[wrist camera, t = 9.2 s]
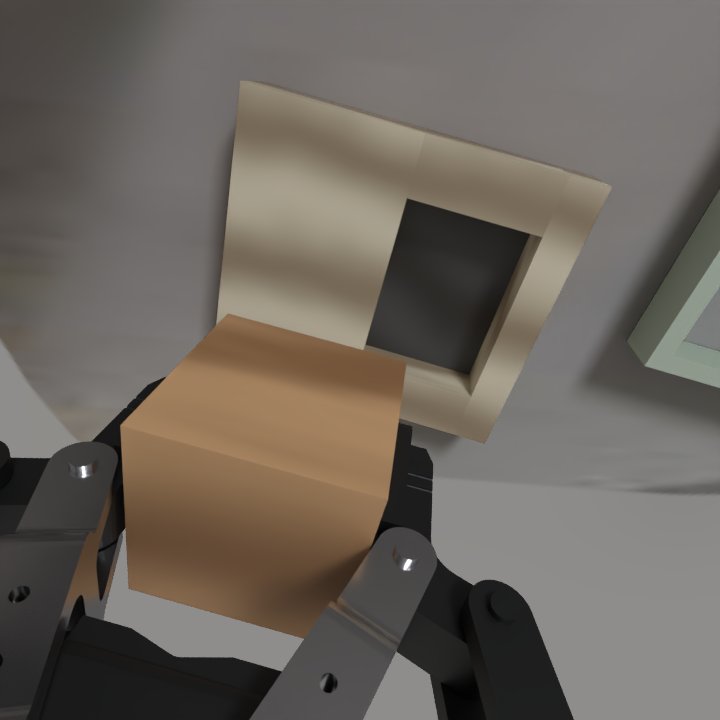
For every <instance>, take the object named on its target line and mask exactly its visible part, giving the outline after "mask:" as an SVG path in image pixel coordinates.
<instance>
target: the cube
mask: <svg viewBox="0 0 720 720" xmlns="http://www.w3.org/2000/svg"><path fill="white" fill-rule="evenodd" d="M406 364H407V362H405V361H401V360H398V359H394V358H390V357H387V356H383V355H379V354H375V353H372V352H368V351H364V350H361V349H357V348H353V347H350V346H346V345H342V344H339V343H335V342H331V341H328V340H324V339H320V338H317V337H313V336H309V335H305V334H302V333H298V332H294V331H291V330H287V329H283V328H280V327H276V326H272V325H269V324H265V323H261V322H258V321H254V320H250V319H246V318H243V317H239V316H235V315H232V314H227V315H226V316H225V317H224V318H223V319H222V320H221V321H220V322H219V323H218V324H217V325H216V326H215V327H214V328H213V329H212V330H211V331H210V332H209V333H208V335H207V336H206V337H205V338H204V339H203V340H202V341H201V342H200V343H199V344H198V345H197V346H196V347H195V348H194V349H193V350H192V351H191V352H190V353H189V354H188V355H187V356H186V357H185V359H184V360H183V361H182V362H181V363H180V364H179V365H178V366H177V367H176V368H175V369H174V370H173V371H172V372H171V373H170V374H169V375H168V376H167V377H166V378H165V379H164V380H163V381H162V382H161V384H160V385H159V386H158V387H157V388H156V389H155V390H154V391H153V392H152V393H151V394H150V395H149V396H148V397H147V398H146V399H145V400H144V401H143V402H142V403H141V404H140V405H139V406H138V407H137V409H136V410H135V411H134V412H133V413H132V414H131V415H130V416H129V417H128V418H127V419H126V420H125V421H124V422H123V423H122V424H121V425H120V429H121V449H122V468H123V487H124V507H125V526H126V543H127V544H126V545H127V565H128V584H129V589H132V590H135V591H139V592H142V593H146V594H149V595H153V596H156V597H160V598H163V599H167V600H170V601H174V602H177V603H181V604H185V605H188V606H191V607H195V608H199V609H202V610H205V611H209V612H212V613H216V614H220V615H223V616H226V617H230V618H233V619H237V620H241V621H244V622H247V623H251V624H254V625H258V626H261V627H265V628H269V629H272V630H275V631H279V632H283V633H286V634H289V635H293V636H297V637H300V638H304V639H305V637H306V636H307V634H308V633H309V631H310V630H311V628H312V627H313V625H314V624H315V623H316V621H317V620H318V618H319V617H320V615H321V614H322V612H323V611H324V609H325V608H326V607H327V605H328V604H329V603H330V602H331V601H332V600H334V601H336V600H337V599H338V598H339V596H340V595H341V593H342V592H343V590H344V589H345V587H346V586H347V584H348V583H349V581H350V580H351V578H352V577H353V575H354V574H355V572H356V571H357V569H358V568H359V566H360V565H361V563H362V562H363V560H364V559H365V557H366V556H367V554H368V553H369V551H370V548H371V546H372V543H373V540H374V537H375V534H376V532H377V529H378V526H379V523H380V520H381V518H382V515H383V512H384V509H385V507H386V504H387V501H388V496H389V488H390V481H391V474H392V466H393V459H394V452H395V444H396V437H397V430H398V422H399V415H400V408H401V400H402V393H403V386H404V378H405V371H406Z"/></svg>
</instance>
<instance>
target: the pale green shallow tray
mask: <svg viewBox="0 0 720 720" xmlns="http://www.w3.org/2000/svg"><path fill="white" fill-rule="evenodd" d="M719 287H720V189H719V191H718V192H717V194H716V196H715V197H714V199H713V200H712V202H711V204H710V205H709V207H708V209H707V210H706V212H705V214H704V215H703V217H702V219H701V220H700V222H699V223H698V225H697V227H696V228H695V230H694V232H693V233H692V235H691V237H690V238H689V240H688V241H687V243H686V245H685V246H684V248H683V250H682V251H681V253H680V255H679V256H678V258H677V260H676V261H675V263H674V264H673V266H672V268H671V269H670V271H669V273H668V274H667V276H666V278H665V279H664V281H663V282H662V284H661V286H660V287H659V289H658V291H657V292H656V294H655V296H654V297H653V299H652V300H651V302H650V304H649V305H648V307H647V309H646V310H645V312H644V314H643V315H642V317H641V319H640V320H639V322H638V323H637V325H636V327H635V328H634V330H633V332H632V333H631V335H630V337H629V338H628V340H627V343H628V344H629V345H630V347H631V348H632V350H633V351H634V352H635V354H636V355H637V356H638V358H639V359H640V361H641V362H642V363H643V365H644V366H646V367H649V368H653V369H656V370H660V371H663V372H667V373H670V374H673V375H677V376H680V377H684V378H687V379H691V380H694V381H697V382H701V383H704V384H708V385H711V386H715V387H718V388H720V351H716V350H713V349H709V348H706V347H702V346H699V345H696V344H692V343H689V342H685V341H683V340H684V338H685V337H686V336H687V334H688V333H689V331H690V330H691V328H692V327H693V325H694V324H695V322H696V321H697V319H698V318H699V316H700V315H701V313H702V312H703V310H704V309H705V308H706V306H707V305H708V303H709V302H710V300H711V299H712V297H713V296H714V294H715V293H716V291H717V290H718V288H719Z"/></svg>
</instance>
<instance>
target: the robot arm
mask: <svg viewBox="0 0 720 720" xmlns="http://www.w3.org/2000/svg"><path fill="white" fill-rule="evenodd" d="M165 378H166V377H164V378H162V379H160V380H158V381H155V382H153V383H151V384H149V385H147V386H146V387H145V388H144V389H143V390H142V391H141V392H140V393H139V394H138V395H137V397H136V399H133V400H132V401H131V402H130V403H129V404H128V405H127V408H124V409H123V410H122V411H121V412H120V413H119V414H118V415H117V416H116V417H115V418H114V419H113V420H112V421H111V423H110V424H109V425H108V426H107V427H106V428H105V429H104V430H103V431H102V432H101V433H100V434H99V435H98V436H97V437H96V438H95V439H94V440H93V441H92V442H80V443H75V444H72V445H69V446H67V447H65V448H62V449H61V450H59V451H58V452H56V453H55V454H54V455H53V456H52V457H51V458H11V457H10V452H9V449H8V447H7V446H6V444H5V443H3V442H1V441H0V720H363V719H364V716H365V714H366V712H367V710H368V708H369V706H370V704H371V702H372V700H373V698H374V696H375V694H376V692H377V689H378V687H379V686H380V683H381V681H382V679H383V677H384V675H385V673H386V671H387V669H388V667H389V664H390V663H391V661H392V659H393V657H394V655H395V653H396V651H397V652H398V653H400V654H401V655H402V656H404V657H405V658H407V659H408V660H410V661H411V662H413V663H414V664H416V665H417V666H418V667H420V668H421V669H423V670H424V671H426V672H427V673H429V674H430V677H431V683H432V688H433V693H434V699H435V704H436V709H437V715H438V720H574V719H573V716H572V714H571V711H570V709H569V706H568V704H567V701H566V698H565V696H564V694H563V691H562V688H561V686H560V683H559V681H558V678H557V675H556V673H555V670H554V668H553V665H552V663H551V660H550V658H549V655H548V652H547V650H546V647H545V645H544V642H543V640H542V637H541V635H540V632H539V629H538V627H537V624H536V622H535V619H534V617H533V614H532V612H531V609H530V607H529V606H528V604H527V603H526V601H525V600H524V598H523V597H522V596H521V595H520V594H519V593H518V592H517V591H516V590H514V589H513V588H512V587H510V586H508V585H507V584H504V583H502V582H499V581H496V580H483V581H480V582H478V583H476V585H474V586H473V585H472V584H470V583H468V582H467V581H465V580H463V579H462V578H460V577H458V576H457V575H455V574H454V573H452V572H451V571H449V570H448V569H447V568H446V567H445V566H444V565H443V564H442V563H441V562H440V560H439V559H438V558H437V556H436V552H435V550H434V548H433V546H432V544H431V517H432V479H433V463H432V461H431V458H430V456H429V454H428V452H427V450H426V449H424V448H420V447H416V446H413V445H411V437H412V426H409V425H405V424H401V423H398V430H397V437H396V444H395V452H394V459H393V466H392V474H391V481H390V488H389V496H388V501H387V504H386V507H385V509H384V512H383V515H382V518H381V520H380V523H379V526H378V529H377V532H376V534H375V537H374V540H373V543H372V546H371V548H370V551H369V553H368V554H367V556H366V557H365V559H364V560H363V562H362V563H361V565H360V566H359V568H358V569H357V571H356V572H355V574H354V575H353V577H352V578H351V580H350V581H349V583H348V584H347V586H346V587H345V589H344V590H343V592H342V593H341V595H340V596H339V598H338V599H337V600H336V601H334V600H332V601H331V602H330V603H329V604H328V605H327V607H326V608H325V609H324V611H323V612H322V614H321V615H320V617H319V618H318V620H317V621H316V623H315V624H314V625H313V627H312V628H311V630H310V631H309V633H308V634H307V636H306V637H305V639H304V640H303V642H302V643H301V645H300V646H299V648H298V649H297V650H296V652H295V653H294V655H293V656H292V658H291V659H290V661H289V662H288V664H287V665H286V667H285V668H284V670H283V671H278V670H275V669H271V668H268V667H264V666H261V665H257V664H254V663H250V662H247V661H243V660H239V659H236V658H206V657H204V658H203V657H201V658H200V657H198V658H195V657H191V658H189V657H183V658H182V657H176V656H173V655H171V654H169V653H168V652H166V651H165V650H163V649H162V648H160V647H159V646H157V645H156V644H154V643H153V642H151V641H150V640H148V639H147V638H145V637H144V636H142V635H140V634H139V633H138V632H136V631H135V630H133V629H132V628H128V627H124V626H121V625H118V624H114V623H111V622H107V621H104V620H103V619H104V613H105V608H106V604H107V599H108V596H109V591H110V588H111V583H112V580H113V576H114V572H115V568H116V563H117V559H118V555H119V551H120V547H121V544H122V538H123V536H122V532H123V530H124V529H125V527H126V526H125V507H124V487H123V468H122V449H121V429H120V425H121V424H122V423H123V422H124V421H125V420H126V419H127V418H128V417H129V416H130V415H131V414H132V413H133V412H134V411H135V410H136V409H137V407H138V406H139V405H140V404H141V403H142V402H143V401H144V400H145V399H146V398H147V397H148V396H149V395H150V394H151V393H152V392H153V391H154V390H155V389H156V388H157V387H158V386H159V385H160V384H161V382H162V381H163V380H164V379H165Z"/></svg>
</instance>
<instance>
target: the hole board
mask: <svg viewBox="0 0 720 720" xmlns="http://www.w3.org/2000/svg"><path fill="white" fill-rule="evenodd" d="M611 188H612V187H611V186H609V185H607V184H605V183H604V182H602V181H600V180H598V179H597V178H595V177H591V176H588V175H584V174H581V173H577V172H574V171H571V170H567V169H564V168H560V167H557V166H553V165H550V164H546V163H543V162H539V161H536V160H532V159H529V158H525V157H522V156H518V155H515V154H511V153H508V152H504V151H501V150H497V149H494V148H490V147H487V146H483V145H480V144H476V143H473V142H470V141H466V140H463V139H459V138H456V137H452V136H449V135H445V134H442V133H438V132H435V131H431V130H428V129H424V128H421V127H417V126H414V125H410V124H407V123H403V122H400V121H396V120H393V119H389V118H386V117H382V116H379V115H375V114H372V113H368V112H365V111H362V110H358V109H355V108H351V107H348V106H344V105H341V104H337V103H334V102H330V101H327V100H323V99H320V98H316V97H313V96H309V95H306V94H302V93H299V92H295V91H292V90H288V89H285V88H281V87H278V86H274V85H271V84H267V83H264V82H257V81H240V89H239V99H238V109H237V120H236V130H235V140H234V150H233V160H232V170H231V180H230V190H229V200H228V210H227V221H226V231H225V241H224V251H223V261H222V271H221V281H220V291H219V301H218V312H217V322H216V325H217V324H218V323H219V322H220V321H221V320H222V319H223V318H224V317H225V316H226V315H227V314H232V315H235V316H239V317H243V318H246V319H250V320H254V321H258V322H261V323H265V324H269V325H272V326H276V327H280V328H283V329H287V330H291V331H294V332H298V333H302V334H305V335H309V336H313V337H317V338H320V339H324V340H328V341H331V342H335V343H339V344H342V345H346V346H350V347H353V348H357V349H361V350H364V351H368V352H372V353H375V354H379V355H383V356H387V357H390V358H394V359H398V360H401V361H405V362H407V364H406V371H405V378H404V386H403V393H402V400H401V408H400V415H399V418H400V419H403V420H407V421H410V422H413V423H417V424H420V425H423V426H427V427H430V428H434V429H437V430H440V431H444V432H447V433H451V434H454V435H457V436H461V437H464V438H468V439H471V440H474V441H478V442H481V443H485V442H486V440H487V438H488V436H489V434H490V432H491V430H492V428H493V426H494V424H495V422H496V420H497V418H498V416H499V414H500V412H501V410H502V408H503V406H504V404H505V402H506V400H507V398H508V396H509V394H510V392H511V390H512V388H513V386H514V384H515V382H516V380H517V378H518V376H519V374H520V372H521V370H522V368H523V366H524V364H525V361H526V359H527V357H528V355H529V353H530V351H531V349H532V347H533V345H534V343H535V341H536V339H537V337H538V335H539V333H540V331H541V329H542V327H543V325H544V323H545V321H546V319H547V317H548V315H549V313H550V311H551V309H552V307H553V305H554V303H555V301H556V299H557V297H558V295H559V293H560V291H561V289H562V287H563V285H564V283H565V281H566V279H567V277H568V275H569V273H570V271H571V269H572V267H573V265H574V263H575V261H576V259H577V257H578V255H579V253H580V251H581V249H582V247H583V245H584V243H585V241H586V239H587V237H588V235H589V233H590V231H591V229H592V227H593V225H594V223H595V221H596V219H597V217H598V215H599V213H600V211H601V209H602V207H603V205H604V203H605V201H606V199H607V197H608V195H609V193H610V191H611Z"/></svg>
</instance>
